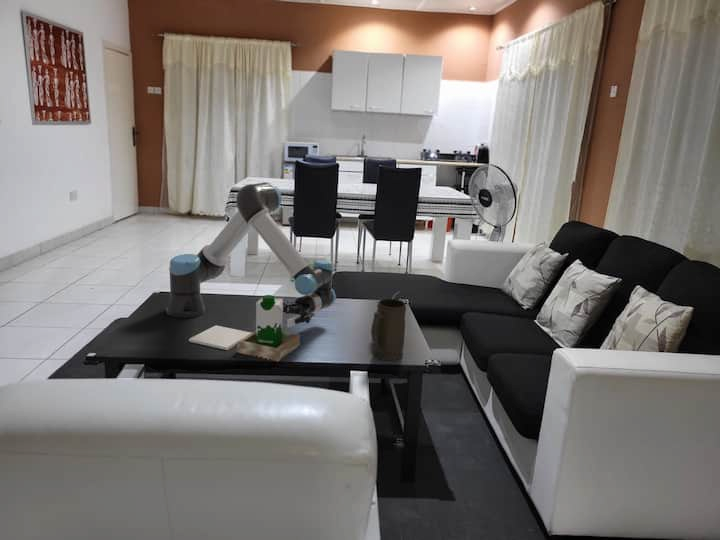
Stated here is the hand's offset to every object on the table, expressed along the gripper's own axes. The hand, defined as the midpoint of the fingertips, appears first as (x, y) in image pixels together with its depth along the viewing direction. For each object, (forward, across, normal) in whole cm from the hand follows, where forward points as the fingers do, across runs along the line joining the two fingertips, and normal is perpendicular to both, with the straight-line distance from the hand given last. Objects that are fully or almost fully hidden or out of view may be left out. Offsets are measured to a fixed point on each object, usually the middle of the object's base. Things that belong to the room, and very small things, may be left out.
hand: (272, 319), depth 184 cm
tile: (+4, +20, -11) cm, 23 cm away
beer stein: (-18, -36, -11) cm, 42 cm away
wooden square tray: (+1, 0, -11) cm, 11 cm away
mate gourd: (-50, -20, -11) cm, 55 cm away
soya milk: (+1, 0, -11) cm, 11 cm away
